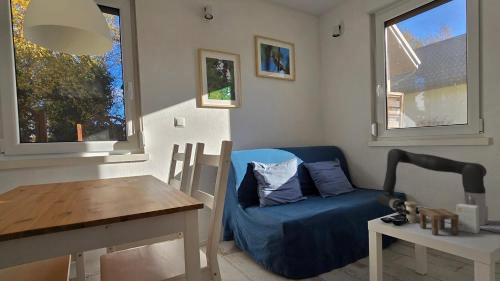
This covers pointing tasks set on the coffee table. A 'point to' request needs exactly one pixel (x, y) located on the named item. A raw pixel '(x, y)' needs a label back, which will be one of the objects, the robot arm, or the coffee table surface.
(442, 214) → the walnut footstool
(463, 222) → the small box
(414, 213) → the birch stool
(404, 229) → the coffee table surface
